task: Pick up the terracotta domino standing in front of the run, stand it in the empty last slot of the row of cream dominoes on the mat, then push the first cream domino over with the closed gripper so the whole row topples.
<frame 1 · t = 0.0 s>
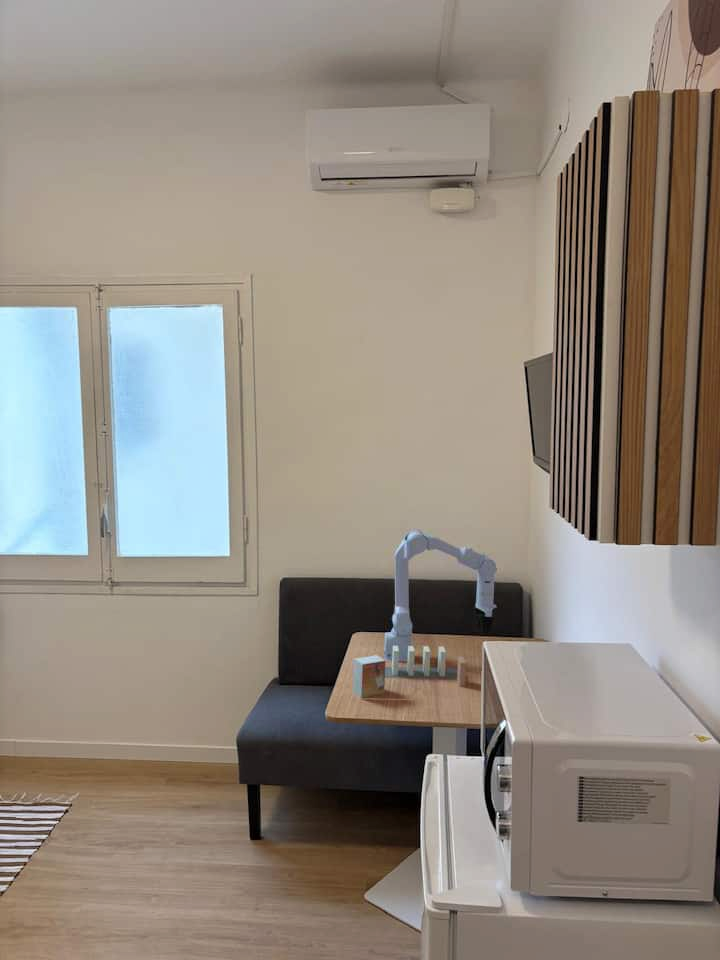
hand: (483, 631, 234), 10 cm above the table, tool pointing down, fingers open, 7 cm apart
domino 1: (394, 672, 220), resting on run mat
domino 3: (425, 672, 220), resting on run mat
domino 4: (441, 673, 220), resting on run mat
small box: (368, 694, 204), on the table
domino 2: (410, 672, 220), resting on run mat
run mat: (421, 674, 220), on the table
terracotta domino: (460, 684, 212), on the table
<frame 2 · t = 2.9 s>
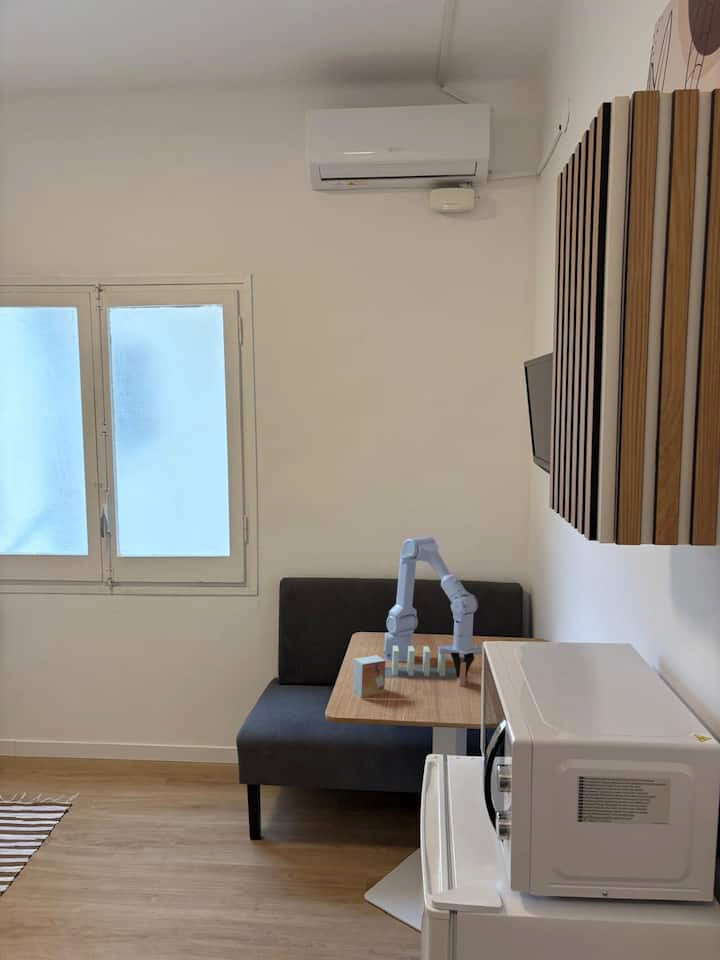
hand: (461, 676, 212), 3 cm above the table, tool pointing down, fingers closed on terracotta domino, 2 cm apart
terracotta domino: (460, 684, 212), on the table, touching gripper
everything else where it was.
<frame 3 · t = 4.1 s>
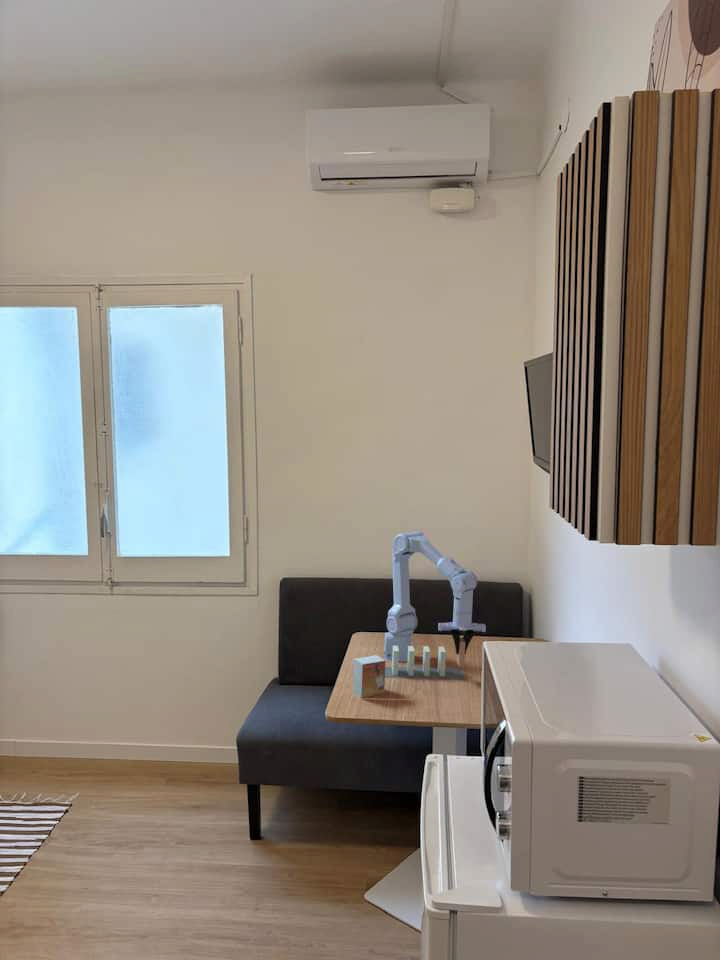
hand: (460, 653, 214), 9 cm above the table, tool pointing down, fingers closed on terracotta domino
terracotta domino: (460, 664, 214), point 6 cm above the table, touching gripper
everything else where it was.
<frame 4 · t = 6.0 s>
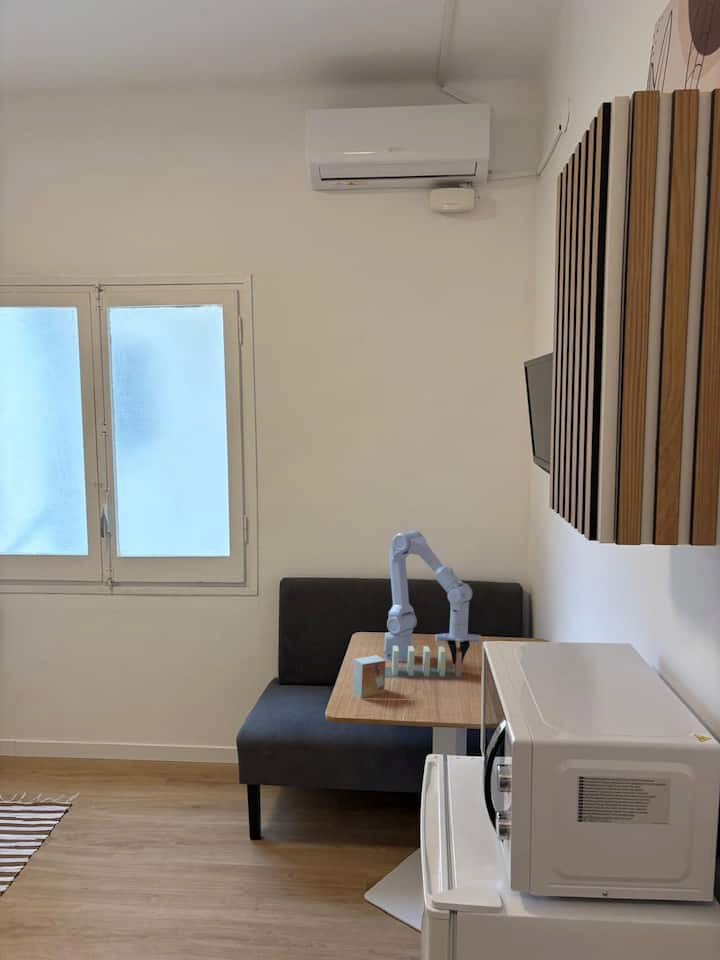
hand: (457, 663, 220), 4 cm above the table, tool pointing down, fingers closed on terracotta domino, 2 cm apart
terracotta domino: (456, 673, 220), resting on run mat, touching gripper
everything else where it was.
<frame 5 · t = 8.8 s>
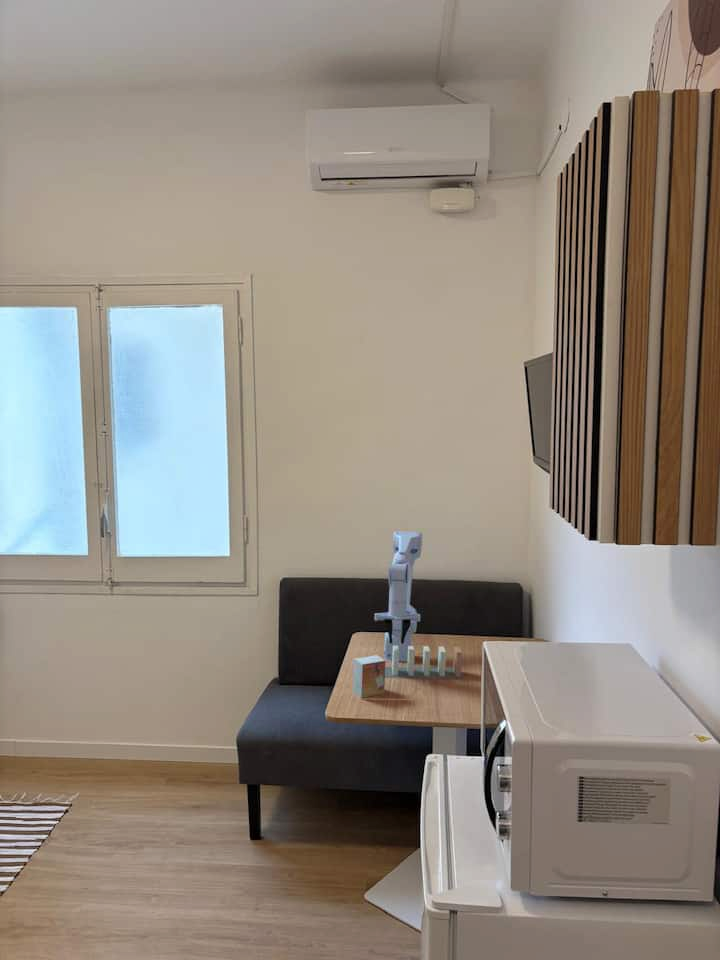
hand: (396, 642, 218), 10 cm above the table, tool pointing down, fingers open, 3 cm apart
terracotta domino: (456, 673, 220), resting on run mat
everything else where it was.
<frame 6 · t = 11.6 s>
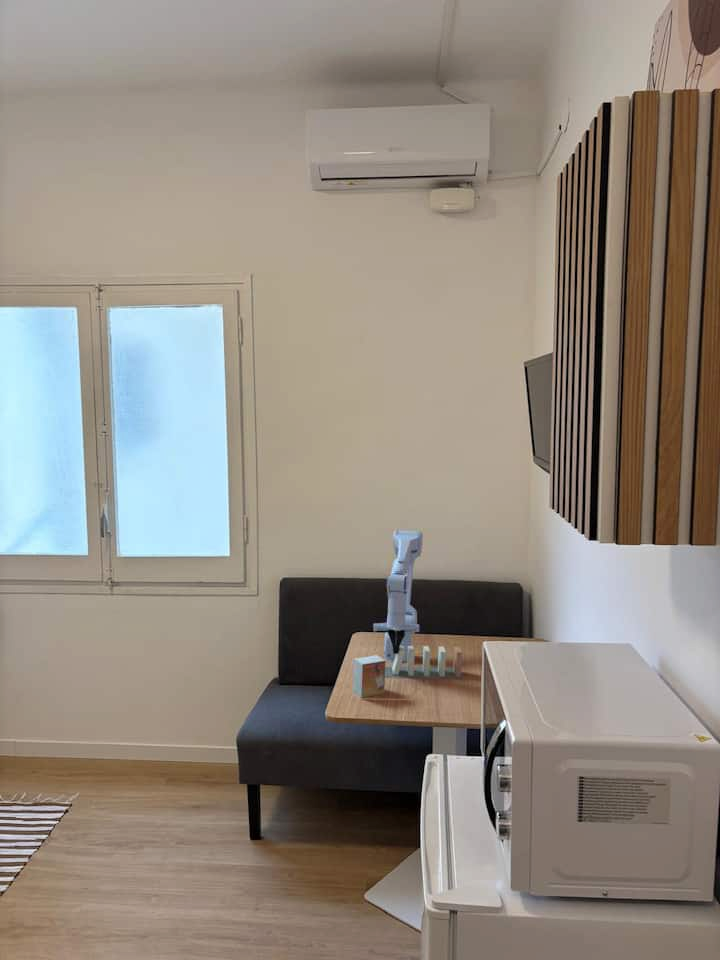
hand: (395, 652, 219), 7 cm above the table, tool pointing down, fingers closed
domino 1: (395, 671, 220), point 1 cm above the table, tilted 14°, touching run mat
everything else where it was.
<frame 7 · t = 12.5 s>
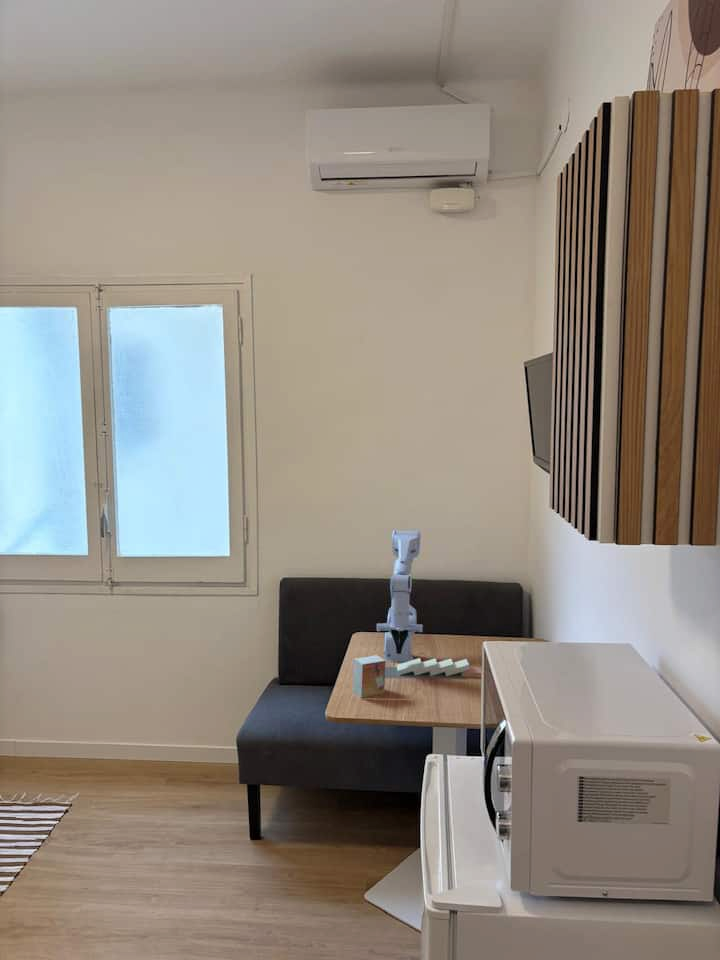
hand: (398, 652, 219), 7 cm above the table, tool pointing down, fingers closed
domino 1: (397, 670, 220), point 1 cm above the table, tilted 71°, touching domino 2, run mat
domino 3: (429, 670, 220), point 1 cm above the table, tilted 71°, touching domino 2, domino 4, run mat
domino 4: (444, 671, 220), point 1 cm above the table, tilted 71°, touching domino 3, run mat, terracotta domino
domino 2: (413, 670, 220), point 1 cm above the table, tilted 72°, touching domino 1, domino 3, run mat
terracotta domino: (460, 671, 220), point 1 cm above the table, tilted 93°, touching domino 4, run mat
everything else where it was.
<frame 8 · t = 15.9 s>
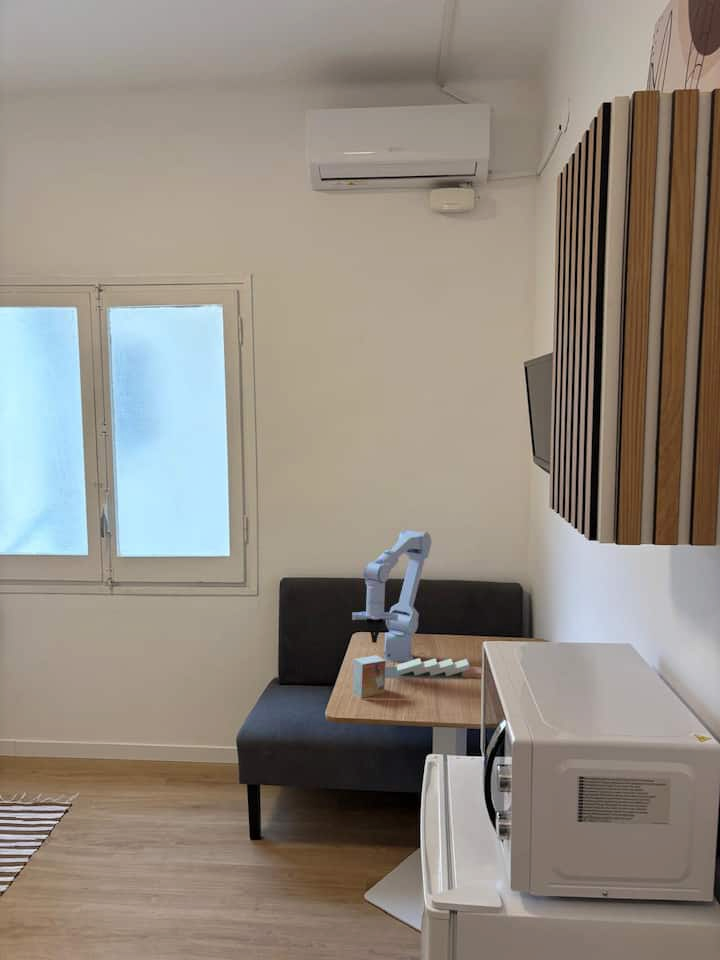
hand: (374, 641, 219), 10 cm above the table, tool pointing down, fingers closed
nothing on the table moved.
at the end: terracotta domino inside the target area (0.9 cm from its centre), point 1.3 cm above the table; terracotta domino tilted 93°; domino 4 tilted 71° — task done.
